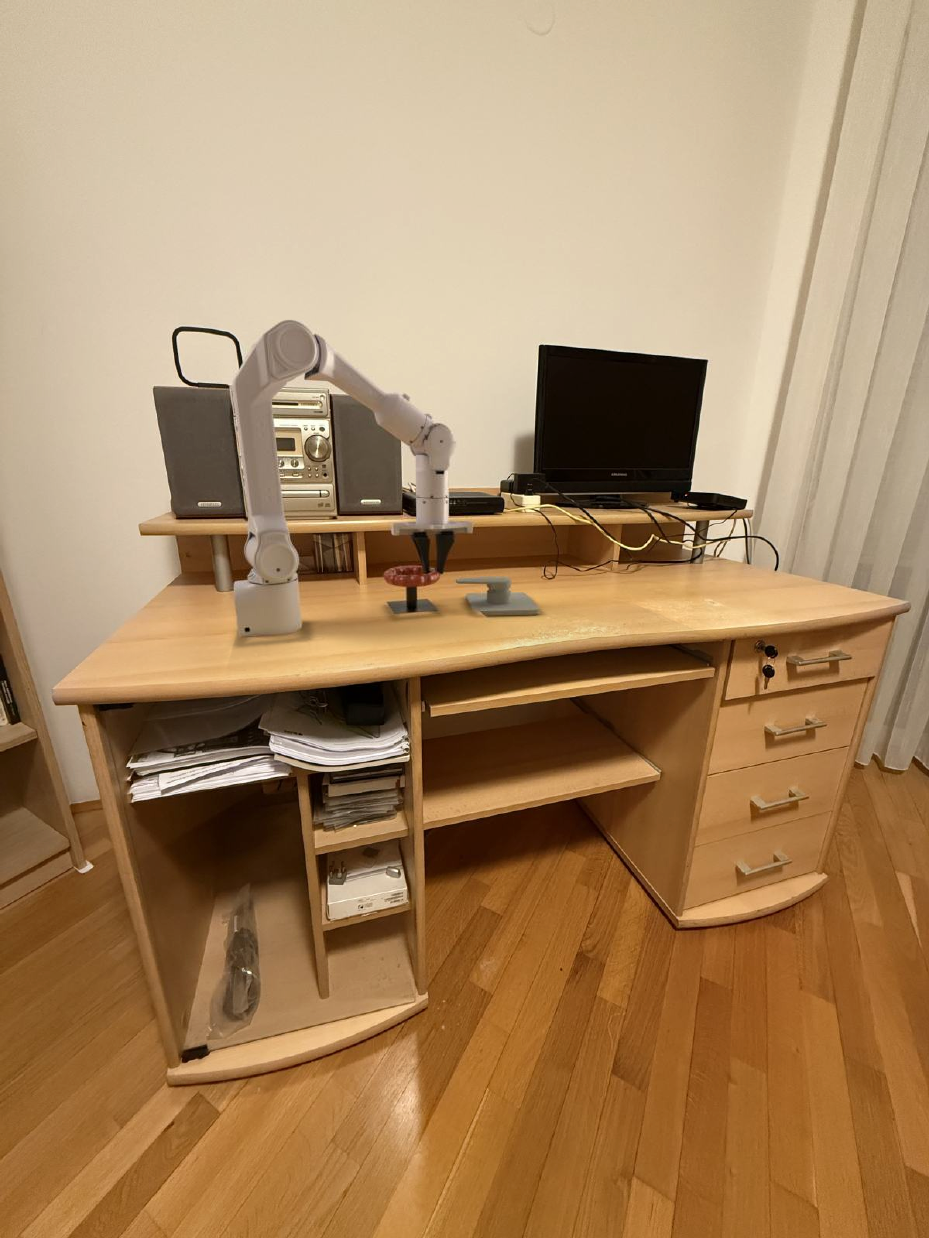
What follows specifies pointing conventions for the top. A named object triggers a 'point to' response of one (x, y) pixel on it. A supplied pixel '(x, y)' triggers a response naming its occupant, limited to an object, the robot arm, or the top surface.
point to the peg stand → (411, 603)
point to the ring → (410, 576)
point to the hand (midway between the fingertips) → (432, 573)
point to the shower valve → (499, 598)
